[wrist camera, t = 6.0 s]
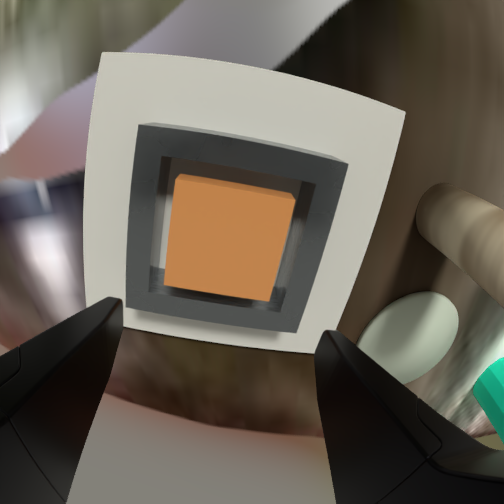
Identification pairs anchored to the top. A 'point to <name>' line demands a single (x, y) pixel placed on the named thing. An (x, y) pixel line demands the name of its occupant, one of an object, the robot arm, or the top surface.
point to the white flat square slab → (233, 170)
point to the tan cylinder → (465, 234)
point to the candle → (492, 395)
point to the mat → (411, 334)
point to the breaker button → (226, 237)
